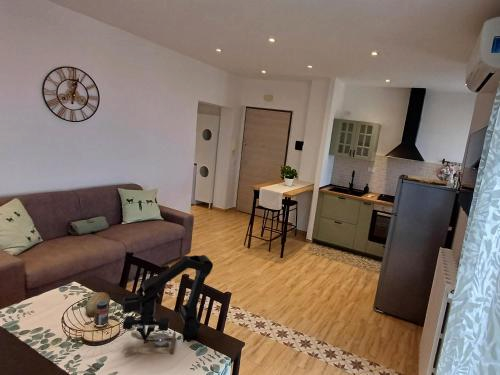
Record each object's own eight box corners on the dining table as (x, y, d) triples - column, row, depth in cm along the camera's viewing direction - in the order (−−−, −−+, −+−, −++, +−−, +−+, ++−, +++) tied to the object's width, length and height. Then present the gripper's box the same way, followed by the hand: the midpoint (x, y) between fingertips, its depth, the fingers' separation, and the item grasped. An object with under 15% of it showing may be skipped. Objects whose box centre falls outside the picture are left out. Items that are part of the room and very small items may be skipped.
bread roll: (114, 302, 171) (114, 288, 169) (100, 319, 156) (101, 304, 155) (96, 299, 171) (96, 286, 169) (81, 316, 156) (81, 301, 155)
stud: (169, 340, 148) (170, 333, 147) (167, 351, 141) (168, 343, 140) (153, 340, 147) (154, 332, 146) (151, 351, 140) (151, 343, 139)
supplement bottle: (92, 322, 153) (93, 300, 151) (106, 319, 157) (107, 297, 155) (95, 329, 149) (96, 307, 146) (109, 325, 152) (110, 304, 150)
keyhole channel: (175, 335, 152) (176, 329, 151) (172, 357, 138) (172, 351, 137) (131, 334, 149) (131, 328, 148) (123, 356, 135) (123, 350, 134)
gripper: (172, 299, 148) (169, 329, 151) (129, 297, 145) (127, 327, 148) (169, 313, 137) (166, 346, 140) (123, 311, 135) (121, 344, 138)
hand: (145, 340), depth 142 cm, fingers closed
